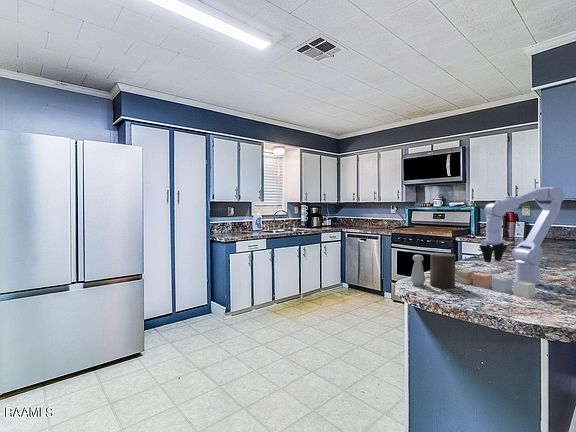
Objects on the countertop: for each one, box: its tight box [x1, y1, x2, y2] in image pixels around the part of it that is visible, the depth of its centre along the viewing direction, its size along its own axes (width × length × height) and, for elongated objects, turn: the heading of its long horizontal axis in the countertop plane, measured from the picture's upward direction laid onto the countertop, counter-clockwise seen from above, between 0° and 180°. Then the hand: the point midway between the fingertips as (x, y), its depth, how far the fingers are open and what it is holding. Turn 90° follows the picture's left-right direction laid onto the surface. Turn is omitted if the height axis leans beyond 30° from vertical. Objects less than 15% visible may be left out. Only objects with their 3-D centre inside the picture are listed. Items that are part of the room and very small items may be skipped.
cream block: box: [512, 281, 536, 299], centre depth 121 cm, size 5×5×5 cm
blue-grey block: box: [491, 276, 514, 294], centre depth 128 cm, size 5×5×5 cm
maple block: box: [455, 269, 475, 285], centre depth 143 cm, size 5×5×5 cm
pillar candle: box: [429, 251, 456, 290], centre depth 136 cm, size 10×10×15 cm
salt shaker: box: [410, 254, 426, 287], centre depth 138 cm, size 6×6×13 cm
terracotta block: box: [472, 272, 493, 289], centre depth 135 cm, size 5×5×5 cm
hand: (492, 261), depth 138 cm, fingers open, 7 cm apart
